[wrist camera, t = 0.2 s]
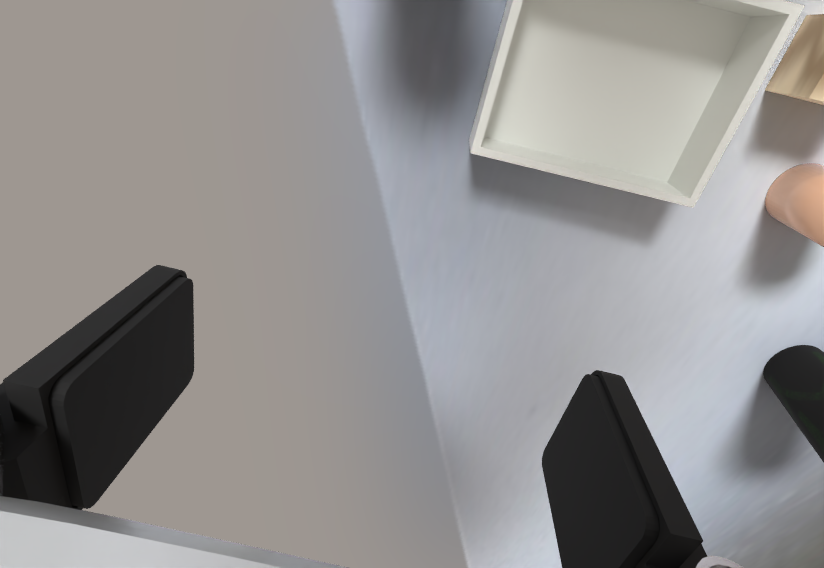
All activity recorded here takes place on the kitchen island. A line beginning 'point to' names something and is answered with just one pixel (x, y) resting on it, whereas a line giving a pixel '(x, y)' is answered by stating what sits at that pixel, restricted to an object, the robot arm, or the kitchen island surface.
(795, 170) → the cylinder
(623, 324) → the kitchen island surface
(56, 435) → the robot arm
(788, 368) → the cup
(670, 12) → the tote
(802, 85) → the cube
